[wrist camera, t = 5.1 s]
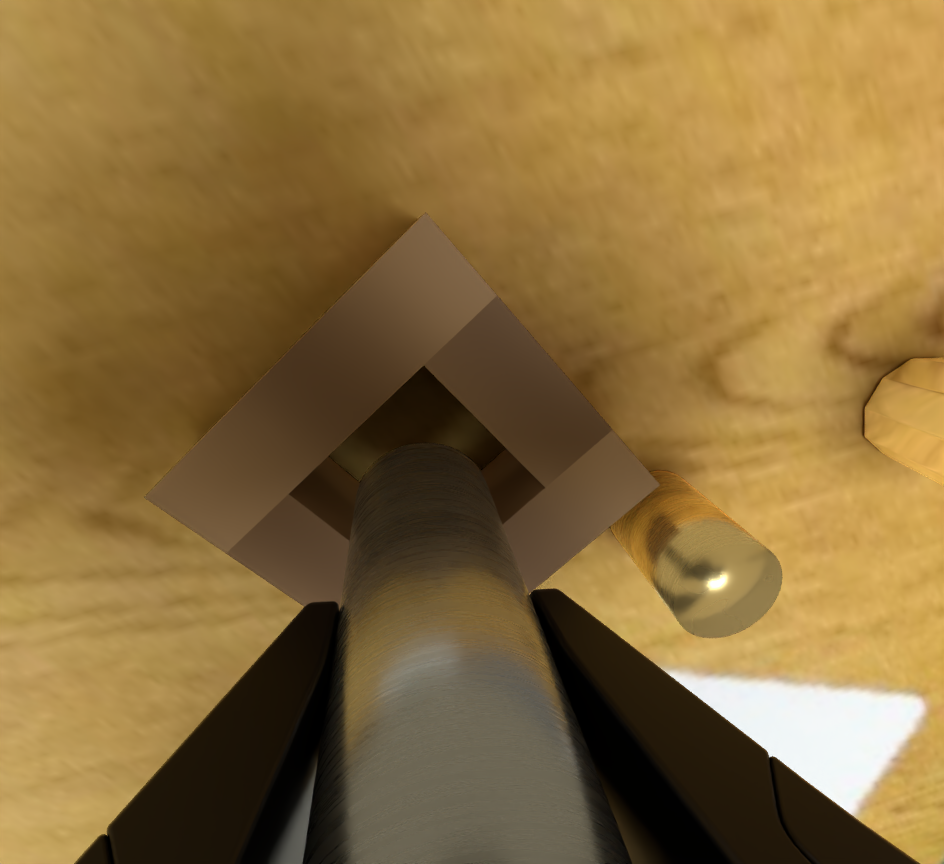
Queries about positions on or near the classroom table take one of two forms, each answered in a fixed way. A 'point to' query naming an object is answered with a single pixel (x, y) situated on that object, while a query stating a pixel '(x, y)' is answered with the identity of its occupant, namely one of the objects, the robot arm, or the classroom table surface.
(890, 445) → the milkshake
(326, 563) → the collar
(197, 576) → the classroom table surface
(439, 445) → the long pin
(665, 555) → the short pin
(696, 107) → the classroom table surface
